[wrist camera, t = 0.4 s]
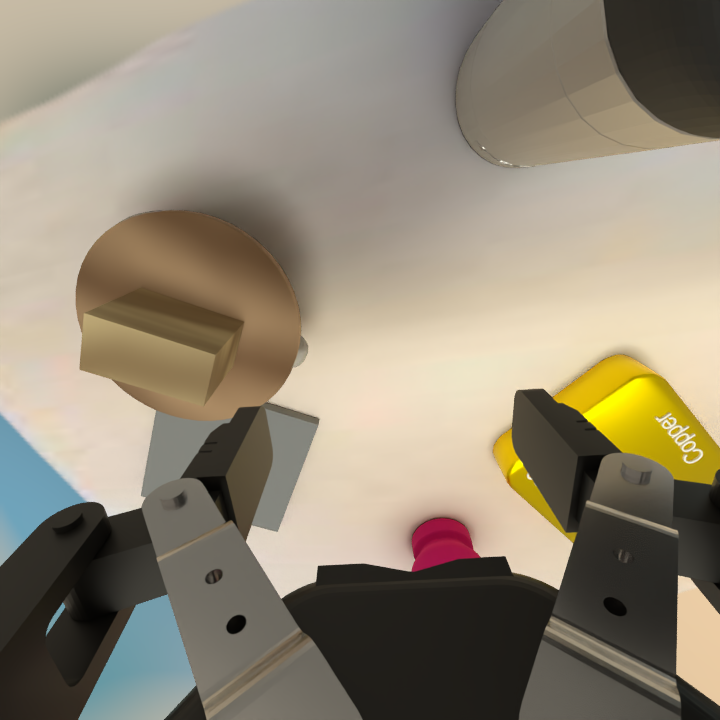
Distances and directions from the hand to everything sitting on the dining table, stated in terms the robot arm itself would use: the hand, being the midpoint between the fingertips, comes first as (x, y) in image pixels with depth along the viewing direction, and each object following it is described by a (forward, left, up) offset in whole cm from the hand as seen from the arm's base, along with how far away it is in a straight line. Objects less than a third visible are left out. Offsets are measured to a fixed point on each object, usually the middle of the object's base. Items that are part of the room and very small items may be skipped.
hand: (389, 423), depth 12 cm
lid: (+4, -10, -12) cm, 17 cm away
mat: (+21, -7, -20) cm, 30 cm away
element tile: (+7, +26, -21) cm, 34 cm away
